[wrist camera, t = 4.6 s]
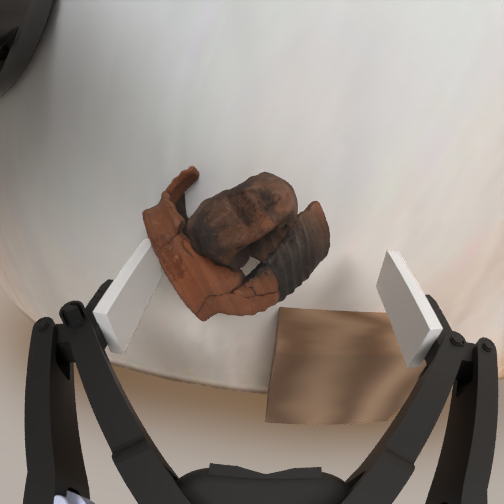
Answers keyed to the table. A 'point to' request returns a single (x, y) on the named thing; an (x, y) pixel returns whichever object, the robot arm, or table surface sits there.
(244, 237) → the broken clay pottery vessel
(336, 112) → the table surface
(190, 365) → the table surface
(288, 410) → the brown wooden square block
